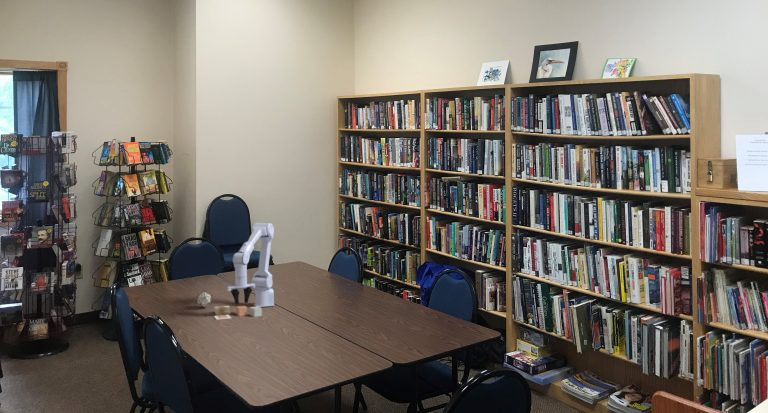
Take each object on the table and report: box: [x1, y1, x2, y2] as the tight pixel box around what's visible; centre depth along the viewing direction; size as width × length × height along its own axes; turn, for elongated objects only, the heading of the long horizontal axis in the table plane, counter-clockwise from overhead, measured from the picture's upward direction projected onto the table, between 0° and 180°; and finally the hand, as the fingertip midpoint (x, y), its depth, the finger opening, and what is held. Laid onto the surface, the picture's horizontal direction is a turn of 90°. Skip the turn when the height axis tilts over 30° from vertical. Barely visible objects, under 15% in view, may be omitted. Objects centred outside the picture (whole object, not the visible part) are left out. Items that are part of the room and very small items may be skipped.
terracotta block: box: [235, 305, 248, 317], centre depth 309 cm, size 4×5×4 cm
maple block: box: [214, 305, 232, 316], centre depth 313 cm, size 7×7×3 cm
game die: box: [195, 291, 213, 309], centre depth 323 cm, size 9×8×10 cm
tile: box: [213, 314, 232, 321], centre depth 303 cm, size 7×7×1 cm
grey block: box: [249, 306, 263, 318], centre depth 307 cm, size 4×5×4 cm
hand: (241, 303), depth 309 cm, fingers open, 4 cm apart
